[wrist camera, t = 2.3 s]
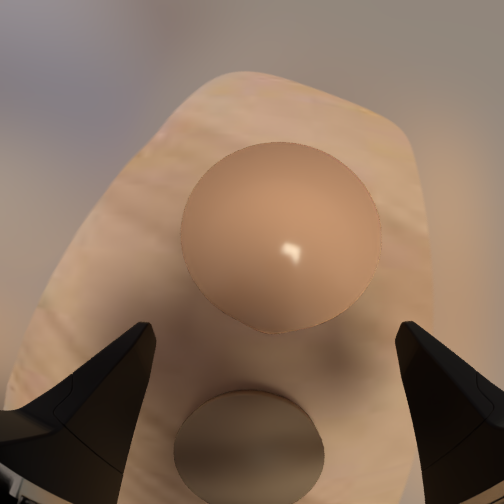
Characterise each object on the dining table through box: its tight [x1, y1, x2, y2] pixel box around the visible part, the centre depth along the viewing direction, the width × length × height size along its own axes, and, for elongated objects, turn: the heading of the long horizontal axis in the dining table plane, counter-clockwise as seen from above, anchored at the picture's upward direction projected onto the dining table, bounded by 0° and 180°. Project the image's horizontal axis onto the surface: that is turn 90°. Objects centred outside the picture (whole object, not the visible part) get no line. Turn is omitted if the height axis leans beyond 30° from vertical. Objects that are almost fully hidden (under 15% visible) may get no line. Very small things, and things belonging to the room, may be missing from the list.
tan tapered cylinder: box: [181, 142, 382, 334], centre depth 13 cm, size 5×5×13 cm
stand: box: [174, 390, 324, 504], centre depth 15 cm, size 10×10×2 cm
